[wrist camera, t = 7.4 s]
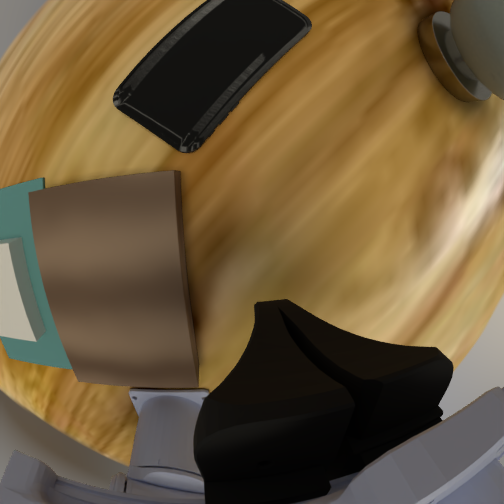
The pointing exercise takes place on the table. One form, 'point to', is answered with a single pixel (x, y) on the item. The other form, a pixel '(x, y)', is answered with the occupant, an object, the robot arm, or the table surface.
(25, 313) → the white rectangular block
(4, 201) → the mat
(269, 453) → the robot arm
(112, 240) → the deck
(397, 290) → the table surface
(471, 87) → the lamp
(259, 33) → the phone
